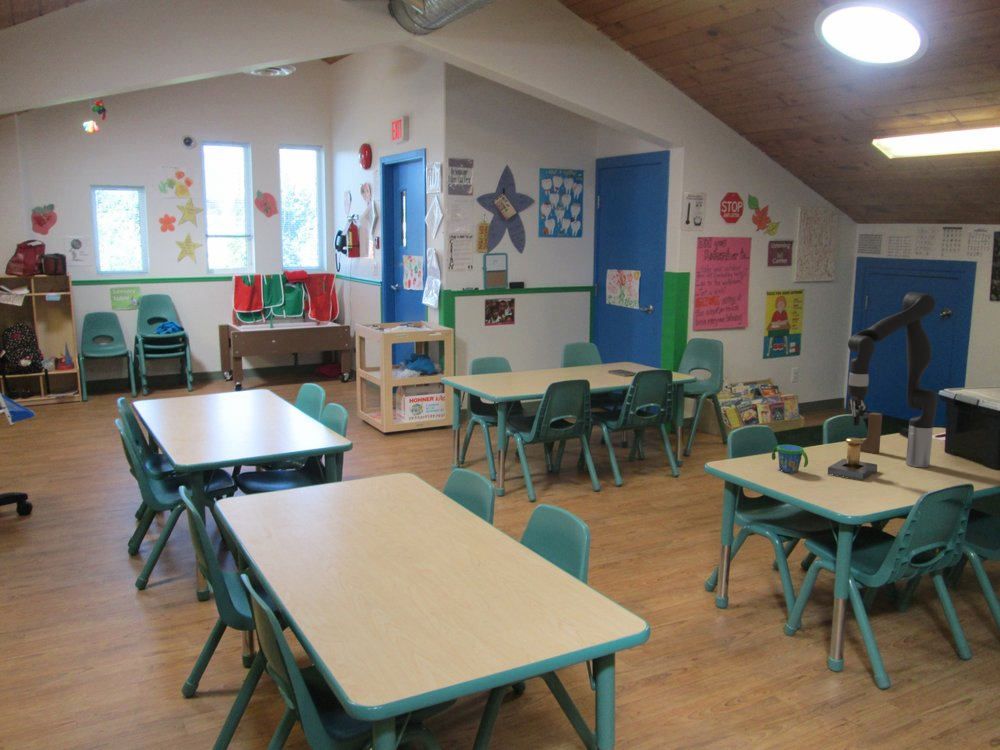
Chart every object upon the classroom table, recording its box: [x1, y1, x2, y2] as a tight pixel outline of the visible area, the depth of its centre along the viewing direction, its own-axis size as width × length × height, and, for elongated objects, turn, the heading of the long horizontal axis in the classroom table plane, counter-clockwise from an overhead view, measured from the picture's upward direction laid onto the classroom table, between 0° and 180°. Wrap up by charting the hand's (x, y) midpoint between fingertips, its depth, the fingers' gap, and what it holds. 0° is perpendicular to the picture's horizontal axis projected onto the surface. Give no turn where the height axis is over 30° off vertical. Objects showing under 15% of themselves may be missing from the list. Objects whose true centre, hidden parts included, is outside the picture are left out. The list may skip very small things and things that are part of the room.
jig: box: [827, 458, 878, 481], centre depth 352 cm, size 18×14×3 cm
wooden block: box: [860, 412, 883, 455], centre depth 386 cm, size 9×4×18 cm, turn 47°
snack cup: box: [771, 444, 809, 473], centre depth 354 cm, size 16×10×10 cm
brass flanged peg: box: [845, 437, 863, 469], centre depth 351 cm, size 7×7×14 cm
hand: (855, 425), depth 349 cm, fingers closed
